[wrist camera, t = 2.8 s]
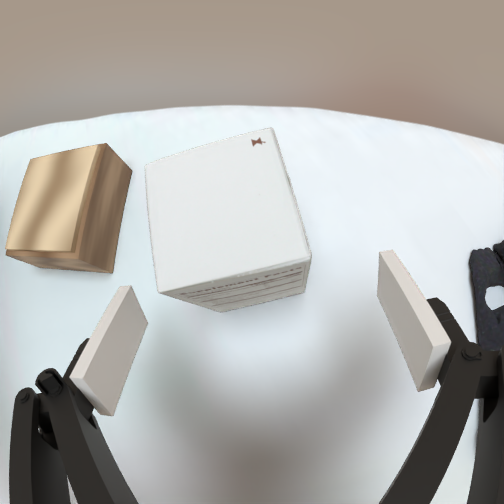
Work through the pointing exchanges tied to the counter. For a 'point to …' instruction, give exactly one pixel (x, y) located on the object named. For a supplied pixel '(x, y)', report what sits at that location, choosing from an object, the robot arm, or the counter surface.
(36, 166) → the pedestal
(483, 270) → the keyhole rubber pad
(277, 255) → the supplement box
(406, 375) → the counter surface
